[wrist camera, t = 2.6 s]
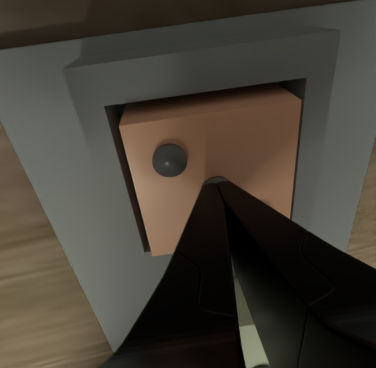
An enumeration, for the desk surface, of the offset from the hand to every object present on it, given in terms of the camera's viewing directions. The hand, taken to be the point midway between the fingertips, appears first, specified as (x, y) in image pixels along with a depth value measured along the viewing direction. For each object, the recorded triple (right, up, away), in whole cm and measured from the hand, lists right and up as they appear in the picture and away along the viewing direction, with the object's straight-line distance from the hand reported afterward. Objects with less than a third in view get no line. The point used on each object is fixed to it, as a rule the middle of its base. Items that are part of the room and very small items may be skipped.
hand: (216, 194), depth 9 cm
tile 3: (0, +1, +2) cm, 2 cm away
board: (+1, -5, +7) cm, 9 cm away
